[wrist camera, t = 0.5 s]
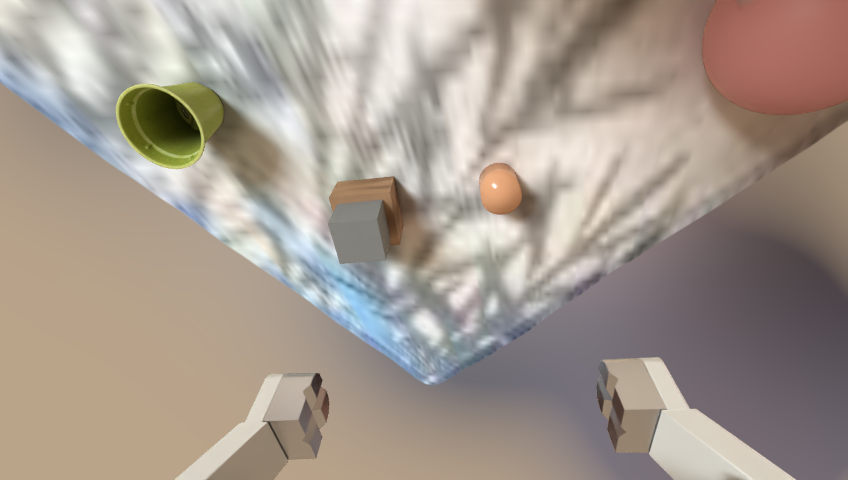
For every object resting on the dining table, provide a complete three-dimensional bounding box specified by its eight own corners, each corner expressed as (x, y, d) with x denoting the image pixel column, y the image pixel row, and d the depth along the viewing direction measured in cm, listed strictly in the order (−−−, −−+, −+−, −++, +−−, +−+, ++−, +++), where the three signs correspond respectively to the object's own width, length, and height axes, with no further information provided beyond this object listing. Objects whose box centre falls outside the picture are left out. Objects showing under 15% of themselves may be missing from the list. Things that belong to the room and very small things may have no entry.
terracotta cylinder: (478, 164, 55) (480, 180, 51) (516, 161, 54) (522, 177, 50) (480, 198, 57) (482, 216, 53) (516, 195, 57) (521, 212, 53)
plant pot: (194, 152, 56) (156, 179, 48) (146, 84, 51) (96, 103, 44) (252, 128, 54) (221, 153, 46) (206, 55, 49) (164, 70, 42)
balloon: (787, -164, 36) (972, -238, 24) (856, 21, 44) (1026, 42, 31) (626, -22, 43) (703, -18, 30) (710, 119, 50) (801, 171, 37)
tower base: (337, 181, 57) (329, 197, 53) (394, 175, 56) (389, 192, 52) (350, 229, 62) (343, 248, 57) (403, 225, 61) (399, 244, 56)
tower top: (337, 203, 54) (328, 223, 49) (382, 199, 53) (376, 219, 49) (348, 242, 57) (340, 263, 53) (390, 238, 56) (386, 260, 52)
